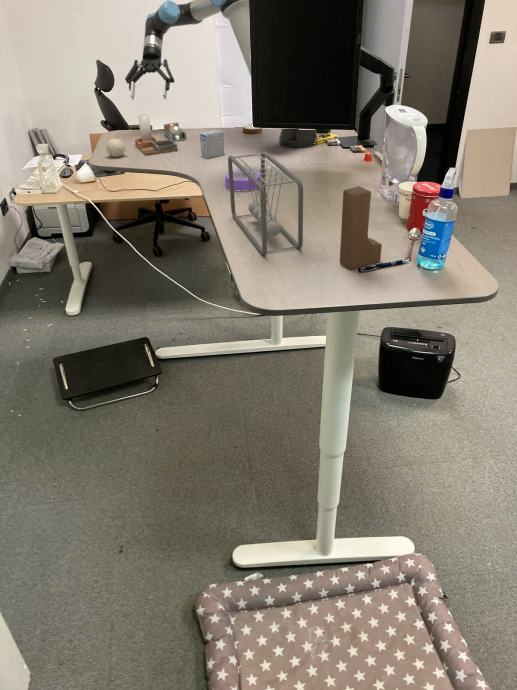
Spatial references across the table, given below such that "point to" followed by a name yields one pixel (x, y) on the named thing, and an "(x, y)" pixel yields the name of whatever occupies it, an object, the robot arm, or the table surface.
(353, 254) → the wooden block
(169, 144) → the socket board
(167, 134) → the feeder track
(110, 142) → the baseball
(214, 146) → the medicine box
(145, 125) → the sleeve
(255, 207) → the newton's cradle
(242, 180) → the masking tape
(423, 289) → the table surface
